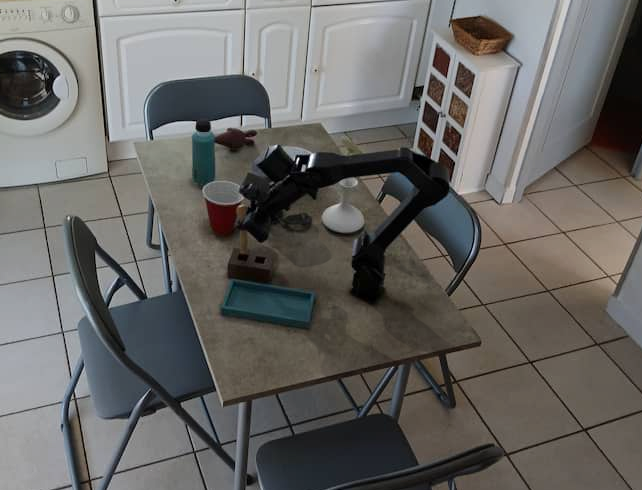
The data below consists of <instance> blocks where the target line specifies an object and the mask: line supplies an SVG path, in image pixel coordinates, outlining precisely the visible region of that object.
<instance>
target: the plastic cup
mask: <svg viewBox="0 0 642 490" xmlns="http://www.w3.org/2000/svg"><path fill="white" fill-rule="evenodd" d="M240 186H241V185H239V184H237V183H235V182H232V181H227V180H214V182H211V183H208V184H207V185H203V188H202V191H201V192H202V195H203V197H204V201H205V206H206V211H207V217H208V221H209V226H210V229H211V231H212V233H214V234H215V235H217V236H228V235H230V234H232V233H233V231H234V229H235V225H236V222H237V218H238V215H237V213H236V210H237V208H238V206H239V205H242V202H243V201H244V200H245V198H244V197H243V195H242V194H240V193H239V189H240Z"/></svg>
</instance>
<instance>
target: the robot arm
mask: <svg viewBox="0 0 642 490" xmlns="http://www.w3.org/2000/svg"><path fill="white" fill-rule="evenodd" d="M282 147H283V146H281V145H280V144H279V143H277V144H276V145H271V146H267V147H266V148H264V149H263V150H262V151H261V152H260V153H259V154H258V156H256V159H255V160H254V162H255V163H254V162H253V163H254V164H255V165H256V166H257V167H258V168H259V169H260V170H261V171H262V172H263V173H264V174H265V175H266V176H267V177H263V178H260V177H258V176H256V175H254V174H252V172H247V173H246V175H245V176H244V178H243V180H242V182H241V184H240V185H239V186H240V189H239V193H240V194H242V195H243V197H244V199H246V200H248V201H250V203H251V206H250V205H249V207H250V208H251V209H250V208H249V207H248V209H247V212H246V217H245V218H244V219H243V220H242V221H241V222H240V219H238V221H237V225H236V226H235V229H236V230H237V231H240V232H241V230H247V233H248V234H250V235H251V236H252V237H253V238H254V239H255V240H256V241H257V242H258V243H260V244H263V243H264V242H266V241H268V240H269V238H270V234H271V231H272V224H269V223H270V218H271V219H272V220H275V219H277V216H278V214H279V213H280V212H283V211H285V212H289V211H290V210H291V208H292V205H294V204H295V203H296V202H298V201H300V200H301V199H302V198H304V197H305V196H307V195H308V196H309V197H310V198H311V199H312V200H314V201H316V200H317V199H318V193H319V189H324V188H327V187H331V186H335V185H336V184H339V182H340V181H341V180H343V179H347V178H361V177H369V176H370V177H371V176H379V175H388V174H396V173H397V174H398V173H399V174H400V175H402V176H403V177H405V178H406V179H407V180H408V181H409V182H410V183H411V184H412V185H413V188H412V190H411V191H410V193H408V195H407V196H406V197H405V198H404V199H403V200H402V201H401V202H400V203H399V205H398V206H397V207H396V208H395V209H394V210H393V211H392V212H391V213H390V214H389V215H388V216H387V217H386V219H385V220H384V221H383V222H382V223H381V224H380V225H379V226H378V227H377V228H376V230H374V231H373V232H369V233H368V232H367V231H366V230H363V231H362V232H361V233H360V235H359V236H358V237H357V238H354V241H353V246H352V253H351V268H352V269H353V270H354V273H353V276H352V282H351V283H352V284H351V286H352V287H351V288H350V290H349V293H350V294H351V295H353V296H354V297H358V298H359V299H360V300H364V301H366V302H368V303H369V304H375V303H376V302H377V300H378V299H379V298H380V297H381V296H382V294H383V293H384V292H385V291H386V287H385V286H384V283H385V278H386V272H385V264H386V256H385V252H386V250H387V249H388V247H389V246H390V245H391V244H392V243H393V242H394V241H395V240H396V239H397V238H398V237H399V236H400V235H401V234H402V233H403V232H404V230H406V229H407V227H408V226H409V225H410V224H411V223H412V222H413V221H414V220H415V219H416V218H417V217H418V216H419V215H420V214H421V213H422V211H424V210H425V209H426V208H429V207H433V206H436V205H438V203H440V202H441V201H442V200H444V199H446V198H447V196H448V195H449V194H450V191H451V188H450V187H451V186H450V169H449V168H448V166H447V165H445V164H444V163H442V162H439V161H435V160H434V159H432V158H431V157H429V156H428V155H425V154H421V153H418V152H416V151H414V150H412V149H411V148H409V147H406V146H404V147H403V146H402V147H399V148H398V149H391V150H381V151H375V152H366V153H363V154H357V155H352V154H349V156H347V155H341V154H339V153H335V152H330V151H329V152H328V151H327V152H325V151H318V152H312V153H313V154H311V155H295V156H294V159H292V158H291V157H290V156H289V155H288V154H287V153H286V152H285V151H284V150H283V148H282ZM303 165H306V168H305V172H301V169H302V166H303ZM278 182H279V183H278ZM269 217H270V218H269Z"/></svg>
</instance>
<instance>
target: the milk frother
mask: <svg viewBox="0 0 642 490" xmlns="http://www.w3.org/2000/svg"><path fill="white" fill-rule="evenodd" d="M254 163H255V161H254V162H253V163H252V164H251V166H250V170H251V173H252V174H254V175H256V176H258V177H260V178H263V177H267V176H266V175H265V174H264V173H263V172H262V171H261V170H260V169H259V168H258V167H257V166H256V165H255V164H254ZM278 183H279V182H278ZM250 206H251V202H249V207H250ZM283 216H284V212H283V211H282V212H280V213H279V214H278V216H277V219H275V220H272V219H271V218H270V217H269V218H270V223H269V224H270V225H272V224H275V223H278V222H281V223H284V224H289V225H296V226H297V225H306V224H309V223H311V222H312V221H313V217H312V215H310V214H308V213H306V212H300V213H292V214H289V215H288V216H285V218H284V219H283ZM295 218H299V220H292V219H295Z"/></svg>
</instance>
